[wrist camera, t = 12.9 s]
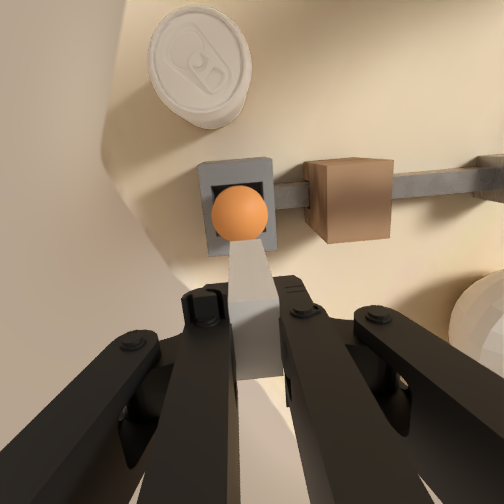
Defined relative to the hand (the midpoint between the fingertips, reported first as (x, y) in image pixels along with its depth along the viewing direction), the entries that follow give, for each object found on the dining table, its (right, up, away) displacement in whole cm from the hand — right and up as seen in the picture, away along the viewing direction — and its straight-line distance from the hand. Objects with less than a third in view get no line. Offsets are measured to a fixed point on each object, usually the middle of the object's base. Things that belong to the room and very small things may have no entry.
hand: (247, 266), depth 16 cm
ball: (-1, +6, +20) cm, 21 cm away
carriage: (+10, +8, +23) cm, 27 cm away
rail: (+16, +9, +24) cm, 30 cm away
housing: (-1, +7, +23) cm, 24 cm away
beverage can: (-4, +19, +20) cm, 27 cm away
